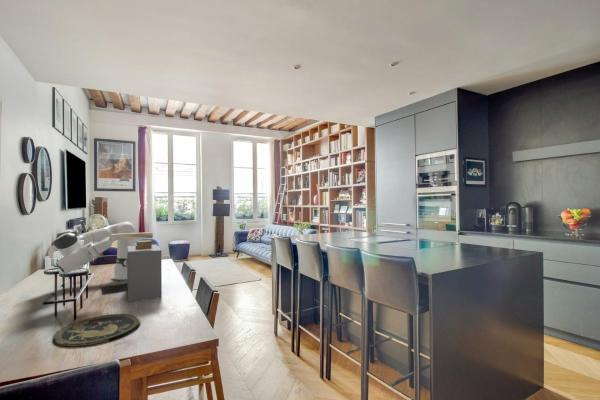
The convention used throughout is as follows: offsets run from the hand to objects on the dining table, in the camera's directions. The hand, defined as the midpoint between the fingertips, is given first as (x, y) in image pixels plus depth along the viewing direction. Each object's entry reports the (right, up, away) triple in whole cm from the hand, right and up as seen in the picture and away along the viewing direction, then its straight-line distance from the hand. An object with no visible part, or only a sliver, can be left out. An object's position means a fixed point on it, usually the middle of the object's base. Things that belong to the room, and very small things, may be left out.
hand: (119, 235), depth 168 cm
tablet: (-9, -35, +24) cm, 44 cm away
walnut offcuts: (+8, -8, +11) cm, 16 cm away
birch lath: (+5, -2, +3) cm, 7 cm away
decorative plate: (+16, -35, -41) cm, 56 cm away
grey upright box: (+8, -34, +11) cm, 37 cm away
